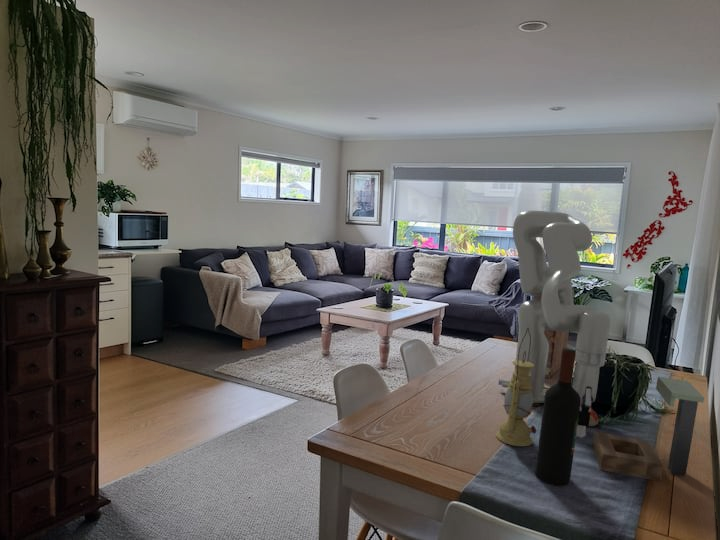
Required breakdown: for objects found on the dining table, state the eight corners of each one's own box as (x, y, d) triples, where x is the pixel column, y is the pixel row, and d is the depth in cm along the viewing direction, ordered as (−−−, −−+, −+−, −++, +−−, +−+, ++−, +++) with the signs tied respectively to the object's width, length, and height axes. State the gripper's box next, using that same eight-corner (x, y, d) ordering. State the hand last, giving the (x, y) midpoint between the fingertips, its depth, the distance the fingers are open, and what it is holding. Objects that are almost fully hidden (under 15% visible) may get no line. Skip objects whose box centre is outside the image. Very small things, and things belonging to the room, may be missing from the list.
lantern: (528, 453, 132) (542, 336, 127) (489, 441, 137) (502, 328, 132) (539, 436, 142) (553, 327, 138) (503, 426, 147) (515, 320, 143)
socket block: (600, 469, 126) (602, 453, 125) (592, 446, 138) (594, 431, 138) (660, 481, 123) (663, 465, 122) (646, 456, 135) (649, 441, 135)
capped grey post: (657, 479, 123) (672, 392, 120) (645, 456, 135) (657, 376, 132) (691, 486, 121) (706, 397, 119) (675, 462, 133) (689, 381, 130)
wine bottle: (529, 468, 124) (545, 344, 120) (560, 468, 125) (577, 345, 121) (543, 485, 117) (560, 354, 113) (576, 486, 117) (594, 356, 113)
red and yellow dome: (572, 424, 152) (574, 413, 152) (573, 413, 161) (575, 401, 161) (598, 430, 149) (599, 418, 149) (597, 418, 158) (599, 406, 158)
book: (541, 358, 217) (550, 286, 213) (565, 363, 212) (575, 289, 208) (524, 372, 196) (534, 293, 192) (549, 379, 191) (560, 297, 187)
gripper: (571, 347, 151) (563, 407, 154) (578, 363, 135) (569, 431, 138) (599, 350, 149) (590, 412, 152) (610, 368, 133) (600, 436, 136)
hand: (580, 420), depth 145 cm, fingers closed on perfume bottle, 4 cm apart
